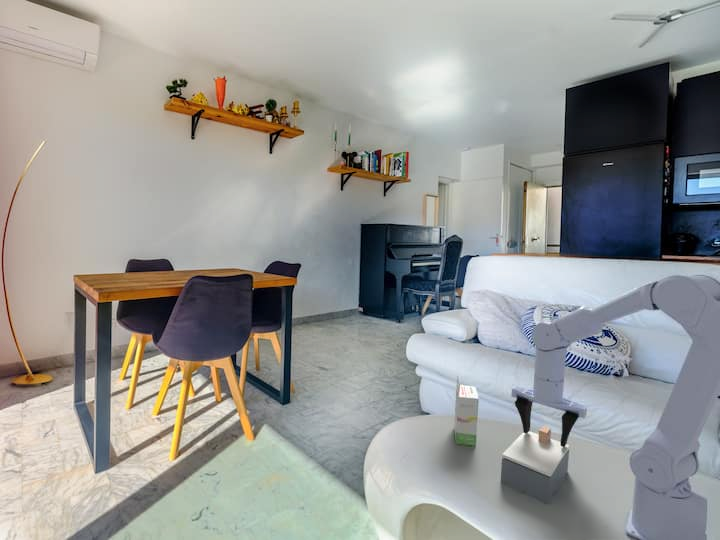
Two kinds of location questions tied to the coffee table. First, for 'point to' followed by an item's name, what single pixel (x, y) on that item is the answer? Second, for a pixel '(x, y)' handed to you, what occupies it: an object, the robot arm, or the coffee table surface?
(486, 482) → the coffee table surface
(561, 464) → the box
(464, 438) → the ink box
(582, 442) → the coffee table surface
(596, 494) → the coffee table surface
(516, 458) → the lid
